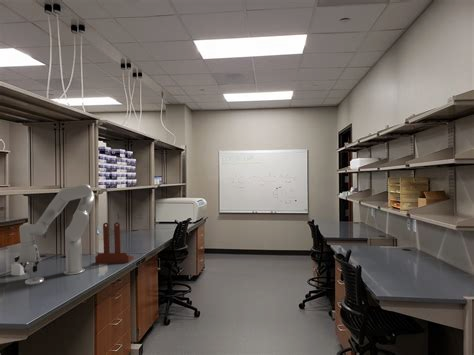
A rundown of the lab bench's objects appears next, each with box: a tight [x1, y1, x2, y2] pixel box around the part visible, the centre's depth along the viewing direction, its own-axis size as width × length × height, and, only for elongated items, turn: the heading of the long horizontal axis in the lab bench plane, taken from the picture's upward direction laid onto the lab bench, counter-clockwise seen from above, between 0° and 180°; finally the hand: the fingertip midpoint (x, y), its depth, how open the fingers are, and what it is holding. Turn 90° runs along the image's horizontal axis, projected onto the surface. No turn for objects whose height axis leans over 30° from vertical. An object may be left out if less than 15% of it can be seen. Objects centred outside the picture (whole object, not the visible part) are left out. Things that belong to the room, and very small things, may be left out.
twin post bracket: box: [94, 221, 135, 265], centre depth 252 cm, size 24×13×30 cm, turn 91°
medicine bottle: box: [10, 255, 29, 276], centre depth 224 cm, size 7×7×12 cm
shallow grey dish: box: [24, 276, 45, 286], centre depth 204 cm, size 10×10×2 cm
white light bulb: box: [24, 262, 36, 275], centre depth 211 cm, size 6×5×6 cm
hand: (30, 271), depth 212 cm, fingers closed on white light bulb, 4 cm apart
